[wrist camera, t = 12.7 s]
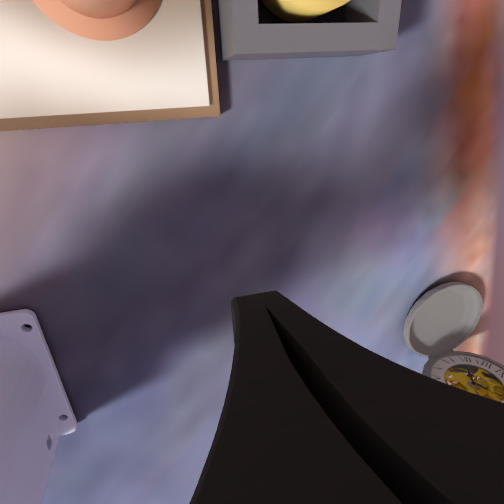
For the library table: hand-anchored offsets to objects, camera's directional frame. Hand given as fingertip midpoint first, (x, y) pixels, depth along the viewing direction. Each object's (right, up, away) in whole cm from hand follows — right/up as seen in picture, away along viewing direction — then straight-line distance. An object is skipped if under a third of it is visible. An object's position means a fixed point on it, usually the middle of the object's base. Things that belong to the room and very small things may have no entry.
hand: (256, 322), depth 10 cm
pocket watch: (+14, -4, +18) cm, 23 cm away
